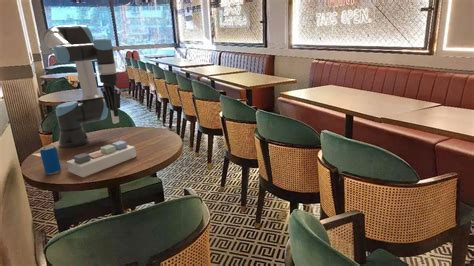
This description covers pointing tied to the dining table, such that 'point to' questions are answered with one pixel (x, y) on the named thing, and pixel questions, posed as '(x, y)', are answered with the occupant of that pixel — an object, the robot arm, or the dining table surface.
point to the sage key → (107, 149)
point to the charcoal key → (82, 158)
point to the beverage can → (50, 159)
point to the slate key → (120, 145)
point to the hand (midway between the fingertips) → (116, 122)
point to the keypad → (101, 161)
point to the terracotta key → (96, 155)
